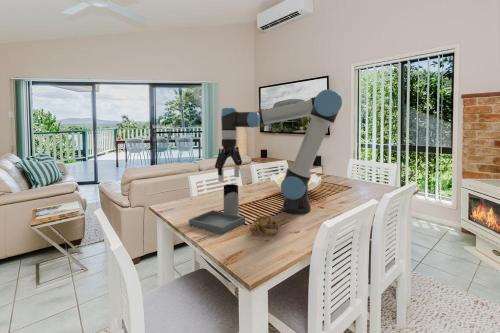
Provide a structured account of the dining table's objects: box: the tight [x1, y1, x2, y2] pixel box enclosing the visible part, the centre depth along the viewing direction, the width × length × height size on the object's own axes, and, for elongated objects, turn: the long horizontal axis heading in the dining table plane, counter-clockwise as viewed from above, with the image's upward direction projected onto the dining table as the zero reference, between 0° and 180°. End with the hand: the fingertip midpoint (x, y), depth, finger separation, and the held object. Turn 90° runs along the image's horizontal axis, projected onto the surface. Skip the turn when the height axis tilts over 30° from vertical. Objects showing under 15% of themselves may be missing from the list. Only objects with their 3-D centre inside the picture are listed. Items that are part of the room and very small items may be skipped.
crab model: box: [248, 215, 280, 238], centre depth 132 cm, size 15×13×6 cm
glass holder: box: [223, 183, 240, 216], centre depth 157 cm, size 9×14×15 cm, turn 16°
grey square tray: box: [188, 209, 246, 235], centre depth 140 cm, size 20×17×3 cm
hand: (229, 179), depth 156 cm, fingers open, 13 cm apart
